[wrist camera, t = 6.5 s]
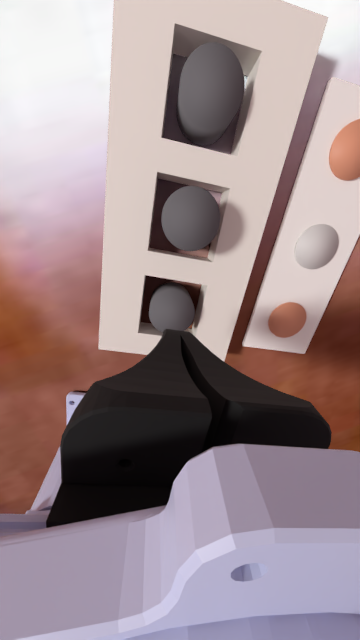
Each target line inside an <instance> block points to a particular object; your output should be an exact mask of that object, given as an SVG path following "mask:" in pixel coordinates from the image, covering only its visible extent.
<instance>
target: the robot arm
mask: <svg viewBox="0 0 360 640" xmlns="http://www.w3.org/2000/svg"><path fill="white" fill-rule="evenodd" d="M72 401H74V402H72ZM66 405H67V426H66V429H65V431H64V433H63V435H62V439H61V445H60V447H59V449H58V452H57V454H56V456H55V458H54V460H53V462H52V465H51V467H50V469H49V471H48V473H47V475H46V477H45V480H44V482H43V484H42V486H41V488H40V490H39V492H38V495H37V497H36V499H35V501H34V503H33V505H32V508H31V510H28V511H27V512H26V514H0V640H360V452H356V451H351V450H334V449H328V447H329V445H330V442H331V430H330V427H329V424H328V423H327V422H326V421H325V420H324V418H323V417H322V416H321V415H320V413H319V412H318V411H317V410H316V409H315V407H314V406H313V405H312V404H311V403H310V402H308V401H306V400H303V399H300V398H297V397H294V396H291V395H288V394H286V393H283V392H280V391H278V390H275V389H273V388H271V387H268V386H266V385H264V384H262V383H259V382H257V381H255V380H253V379H251V378H250V377H248V376H246V375H244V374H242V373H240V372H239V371H237V370H235V369H234V368H232V367H231V366H229V365H228V364H226V363H225V362H224V361H222V360H221V359H220V358H218V357H217V356H216V355H215V354H213V353H212V352H211V351H210V350H209V349H208V348H207V347H205V346H204V345H203V344H202V343H201V342H200V341H199V340H198V339H197V338H196V337H195V336H194V335H193V334H192V333H190V332H187V331H179V330H172V329H165V330H164V331H163V335H162V337H161V339H160V341H159V342H158V344H157V345H156V346H155V347H154V349H153V350H152V351H151V352H150V353H149V354H148V355H147V356H146V357H145V358H144V359H143V360H141V361H140V362H139V363H137V364H136V365H135V366H133V367H132V368H130V369H128V370H126V371H124V372H122V373H120V374H117V375H115V376H112V377H109V378H106V379H103V380H100V381H97V382H95V383H93V385H92V386H91V387H90V388H89V390H88V391H87V392H86V393H80V392H70V393H69V394H68V395H67V397H66Z"/></svg>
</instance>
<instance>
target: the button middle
mask: <svg viewBox="0 0 360 640" xmlns="http://www.w3.org/2000/svg"><path fill="white" fill-rule="evenodd" d="M161 221H162V228H163V231H164V233H165V235H166V237H167V239H168V240H169V241H170V242H171V243H172V244H173V245H174V246H175V247H177V248H179V249H181V250H185V251H195V250H199V249H202V248H204V247H205V246H207V245H208V244H209V243H210V242H211V241H212V240H213V239H214V237H215V236H216V234H217V232H218V229H219V226H220V210H219V207H218V204H217V202H216V200H215V198H214V197H213V196H212V195H211V194H210V193H209V192H208V191H206V190H205V189H203V188H201V187H197V186H186V187H182V188H180V189H178V190H176V191H175V192H174V193H172V194H171V195H170V197H169V198H168V199H167V201H166V202H165V205H164V207H163V210H162V217H161Z"/></svg>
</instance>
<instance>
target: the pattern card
mask: <svg viewBox="0 0 360 640" xmlns="http://www.w3.org/2000/svg"><path fill="white" fill-rule="evenodd" d="M359 235H360V86H359V85H356V84H353V83H350V82H347V81H344V80H340V79H337V78H334V77H332V78H331V79H330V80H329V81H328V82H327V85H326V88H325V91H324V94H323V98H322V101H321V104H320V107H319V110H318V113H317V116H316V119H315V122H314V125H313V128H312V131H311V134H310V137H309V140H308V143H307V146H306V150H305V153H304V156H303V159H302V162H301V165H300V168H299V171H298V174H297V177H296V180H295V183H294V186H293V189H292V192H291V195H290V198H289V201H288V205H287V208H286V211H285V214H284V217H283V220H282V223H281V226H280V229H279V232H278V235H277V238H276V241H275V244H274V247H273V250H272V253H271V257H270V260H269V263H268V266H267V269H266V272H265V275H264V278H263V281H262V284H261V287H260V290H259V293H258V296H257V299H256V302H255V305H254V309H253V312H252V315H251V318H250V321H249V324H248V327H247V330H246V333H245V336H244V339H243V342H242V345H243V346H246V347H254V348H262V349H270V350H278V351H286V352H294V353H301V354H305V352H306V350H307V348H308V346H309V344H310V341H311V339H312V337H313V335H314V333H315V331H316V328H317V326H318V324H319V322H320V320H321V317H322V315H323V313H324V311H325V309H326V307H327V304H328V302H329V300H330V298H331V296H332V294H333V291H334V289H335V287H336V285H337V283H338V281H339V278H340V276H341V274H342V272H343V270H344V268H345V265H346V263H347V261H348V259H349V257H350V254H351V252H352V250H353V248H354V246H355V244H356V241H357V239H358V237H359Z"/></svg>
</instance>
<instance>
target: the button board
mask: <svg viewBox="0 0 360 640" xmlns="http://www.w3.org/2000/svg"><path fill="white" fill-rule="evenodd" d="M327 20H328V17H326V16H323V15H320V14H317V13H315V12H312V11H309V10H306V9H303V8H301V7H298V6H295V5H292V4H290V3H287V2H284V1H281V0H114V10H113V33H112V55H111V78H110V101H109V123H108V146H107V169H106V191H105V214H104V237H103V259H102V282H101V305H100V327H99V349H102V350H111V351H119V352H128V353H137V354H145V355H148V354H149V353H150V352H151V351H152V350H153V349H154V347H155V346H156V345H157V344H158V342H159V341H160V339H161V337H162V335H163V332H161V331H159V330H157V329H156V328H155V327H154V326H153V324H150V323H143V322H141V313H142V305H143V297H144V289H145V280H146V275H147V276H153V277H159V278H166V279H172V280H178V281H184V282H190V283H196V284H202V286H201V290H200V295H199V299H198V304H197V308H196V313H195V317H194V322H193V326H192V329H188V328H187V329H186V330H184V331H187V332H190V333H192V334H193V335H194V336H195V337H196V338H197V339H198V340H199V341H200V342H201V343H202V344H203V345H204V346H205V347H207V348H208V349H209V350H210V351H211V352H212V353H213V354H215V355H216V356H217V357H218V358H220V359H221V360H222V361H224V360H225V357H226V354H227V350H228V347H229V344H230V340H231V337H232V334H233V331H234V327H235V324H236V321H237V317H238V314H239V311H240V307H241V304H242V301H243V297H244V294H245V291H246V288H247V284H248V281H249V278H250V274H251V271H252V268H253V264H254V261H255V258H256V254H257V251H258V248H259V245H260V241H261V238H262V235H263V231H264V228H265V225H266V221H267V218H268V215H269V211H270V208H271V205H272V202H273V198H274V195H275V192H276V188H277V185H278V182H279V178H280V175H281V172H282V169H283V165H284V162H285V159H286V155H287V152H288V149H289V145H290V142H291V139H292V135H293V132H294V129H295V126H296V122H297V119H298V116H299V112H300V109H301V106H302V102H303V99H304V96H305V92H306V89H307V86H308V83H309V79H310V76H311V73H312V69H313V66H314V63H315V59H316V56H317V53H318V49H319V46H320V43H321V40H322V36H323V33H324V30H325V26H326V23H327ZM209 42H217V43H221V44H223V45H225V46H227V47H228V48H229V49H231V50H232V51H233V53H234V54H235V55H236V57H237V58H238V60H239V62H240V64H241V67H242V70H243V75H246V76H248V78H247V83H246V87H245V92H244V96H243V101H242V105H241V110H240V114H239V119H238V123H237V128H236V132H235V137H234V141H233V146H232V150H231V155H229V154H225V153H221V152H217V151H213V150H209V149H205V148H201V147H197V146H193V145H189V144H185V143H181V142H177V141H173V140H169V139H165V138H163V132H164V124H165V115H166V107H167V99H168V91H169V82H170V74H171V66H172V58H173V53H174V54H177V55H180V56H183V57H187V58H188V57H189V55H190V54H191V53H192V52H193V51H194V50H195V49H196V48H197V47H199V46H201V45H202V44H205V43H209ZM158 179H162V180H167V181H171V182H176V183H180V184H185V185H189V186H197V187H201V188H203V189H207V190H212V191H216V192H221V193H222V195H221V200H220V204H219V210H220V226H219V229H218V232H217V234H216V236H215V237H214V239H213V240H212V241H211V245H210V250H209V254H208V258H203V257H198V256H192V255H187V254H181V253H175V252H170V251H164V250H159V249H153V248H149V247H150V239H151V231H152V223H153V214H154V206H155V198H156V190H157V181H158Z"/></svg>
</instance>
